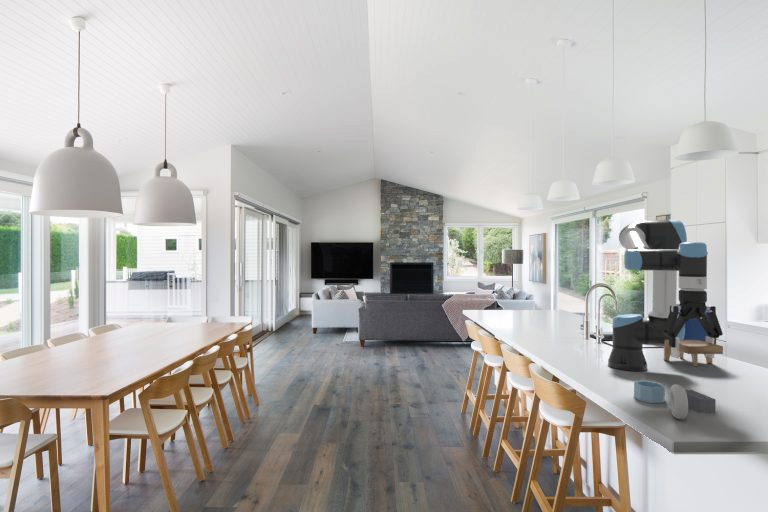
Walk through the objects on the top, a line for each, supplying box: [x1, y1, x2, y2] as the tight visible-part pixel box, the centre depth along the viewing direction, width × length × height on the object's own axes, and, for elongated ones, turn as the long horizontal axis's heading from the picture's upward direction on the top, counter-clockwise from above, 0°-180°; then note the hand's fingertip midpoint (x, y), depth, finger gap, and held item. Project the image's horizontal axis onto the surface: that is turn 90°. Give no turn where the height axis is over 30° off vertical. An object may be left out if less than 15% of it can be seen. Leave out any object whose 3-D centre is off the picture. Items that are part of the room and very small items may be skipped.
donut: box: [668, 383, 689, 420], centre depth 129 cm, size 10×3×10 cm, turn 158°
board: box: [663, 340, 724, 355], centre depth 141 cm, size 11×11×2 cm
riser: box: [685, 389, 717, 413], centre depth 140 cm, size 10×5×4 cm, turn 2°
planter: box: [663, 303, 713, 367], centre depth 203 cm, size 19×19×26 cm
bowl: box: [633, 380, 666, 404], centre depth 147 cm, size 8×8×5 cm
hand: (692, 357), depth 141 cm, fingers closed on board, 11 cm apart
